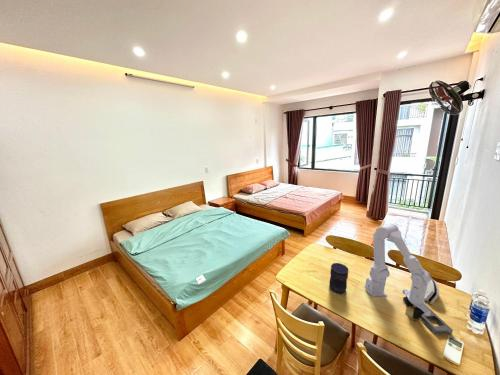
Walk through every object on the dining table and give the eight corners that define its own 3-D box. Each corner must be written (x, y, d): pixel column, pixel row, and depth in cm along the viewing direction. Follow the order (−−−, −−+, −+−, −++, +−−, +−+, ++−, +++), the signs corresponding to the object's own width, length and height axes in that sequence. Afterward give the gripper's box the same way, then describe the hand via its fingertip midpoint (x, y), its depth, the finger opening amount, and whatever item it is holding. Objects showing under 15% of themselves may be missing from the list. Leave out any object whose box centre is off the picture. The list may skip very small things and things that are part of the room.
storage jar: (347, 295, 118) (350, 274, 114) (330, 293, 120) (332, 272, 116) (344, 283, 127) (346, 263, 123) (328, 281, 129) (329, 262, 126)
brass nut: (411, 320, 102) (413, 311, 100) (405, 313, 105) (407, 304, 104) (419, 319, 102) (421, 311, 100) (412, 313, 105) (414, 304, 104)
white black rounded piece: (415, 282, 127) (425, 271, 123) (424, 287, 125) (434, 276, 121) (420, 300, 113) (431, 289, 109) (430, 306, 111) (442, 294, 107)
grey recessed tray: (435, 334, 94) (436, 330, 93) (402, 300, 113) (403, 297, 113) (451, 333, 94) (452, 329, 94) (416, 300, 113) (417, 296, 113)
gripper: (439, 304, 93) (432, 326, 96) (413, 282, 107) (408, 302, 110) (424, 305, 93) (418, 327, 96) (400, 282, 107) (396, 303, 110)
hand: (412, 314), depth 103 cm, fingers closed on brass nut, 4 cm apart
